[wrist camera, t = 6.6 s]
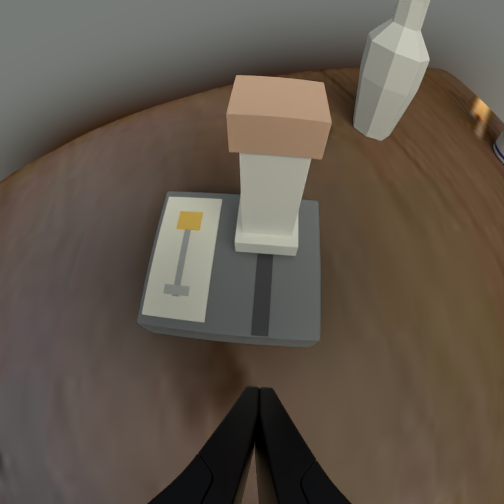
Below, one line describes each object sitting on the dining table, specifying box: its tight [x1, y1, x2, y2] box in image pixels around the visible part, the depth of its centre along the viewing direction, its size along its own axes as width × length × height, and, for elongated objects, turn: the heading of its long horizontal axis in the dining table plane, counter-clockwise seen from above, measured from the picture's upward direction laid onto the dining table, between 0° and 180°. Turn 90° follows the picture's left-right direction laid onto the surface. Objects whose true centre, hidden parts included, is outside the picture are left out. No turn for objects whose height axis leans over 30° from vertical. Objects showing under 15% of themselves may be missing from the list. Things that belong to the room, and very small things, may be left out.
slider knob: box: [226, 75, 332, 256], centre depth 15 cm, size 4×4×10 cm
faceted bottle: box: [353, 0, 430, 141], centre depth 20 cm, size 6×6×22 cm
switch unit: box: [137, 191, 321, 347], centre depth 20 cm, size 10×11×3 cm
